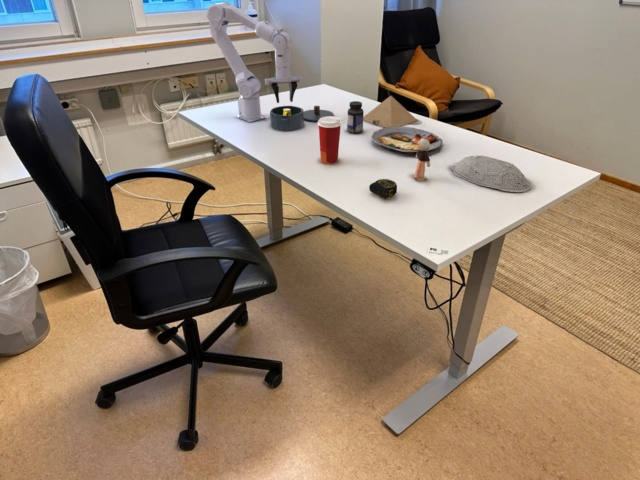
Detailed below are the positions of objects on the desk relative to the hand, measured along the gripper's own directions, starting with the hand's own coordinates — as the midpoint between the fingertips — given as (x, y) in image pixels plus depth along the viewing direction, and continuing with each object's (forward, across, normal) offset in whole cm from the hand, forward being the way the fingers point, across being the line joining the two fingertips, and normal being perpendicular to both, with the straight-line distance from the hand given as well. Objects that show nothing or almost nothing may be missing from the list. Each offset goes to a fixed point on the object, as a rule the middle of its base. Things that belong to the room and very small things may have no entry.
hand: (284, 101), depth 179 cm
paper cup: (+8, -5, +44) cm, 45 cm away
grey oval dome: (+8, -49, +70) cm, 86 cm away
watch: (+8, 0, +6) cm, 9 cm away
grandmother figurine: (+8, -28, +65) cm, 72 cm away
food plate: (+8, -36, +38) cm, 53 cm away
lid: (+7, -14, -1) cm, 16 cm away
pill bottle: (+8, -23, +20) cm, 32 cm away
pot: (+8, 0, +6) cm, 10 cm away
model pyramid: (+8, -41, +11) cm, 43 cm away
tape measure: (+8, -13, +73) cm, 75 cm away
